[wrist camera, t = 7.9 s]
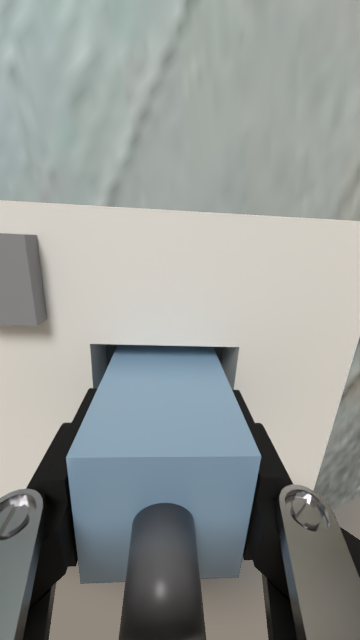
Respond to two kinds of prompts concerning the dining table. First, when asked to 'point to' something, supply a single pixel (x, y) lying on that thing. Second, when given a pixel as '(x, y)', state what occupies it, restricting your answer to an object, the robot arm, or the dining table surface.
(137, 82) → the dining table surface
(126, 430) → the plug
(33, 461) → the socket
